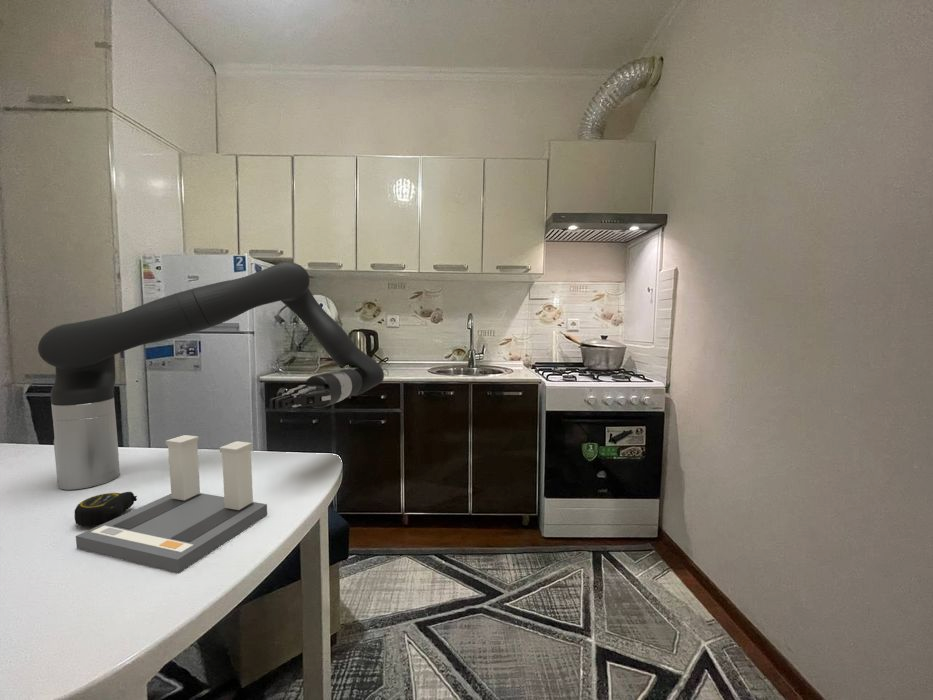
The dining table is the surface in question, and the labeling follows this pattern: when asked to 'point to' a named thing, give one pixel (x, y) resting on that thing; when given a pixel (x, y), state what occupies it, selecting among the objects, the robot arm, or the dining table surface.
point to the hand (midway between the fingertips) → (274, 404)
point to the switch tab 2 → (237, 474)
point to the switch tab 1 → (184, 467)
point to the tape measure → (103, 508)
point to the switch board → (171, 531)
